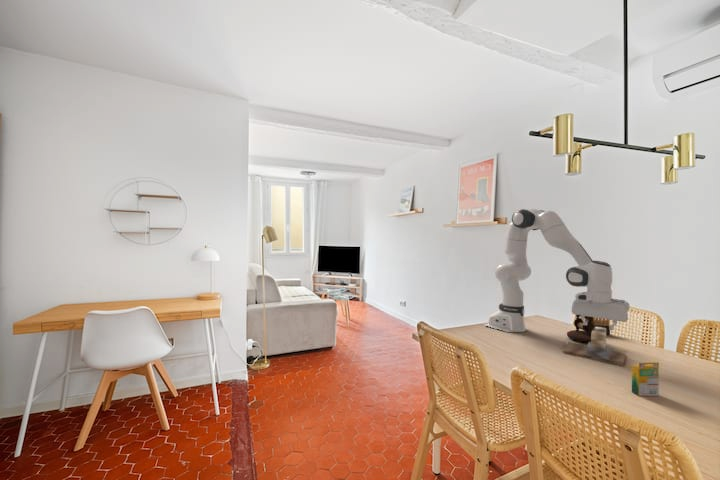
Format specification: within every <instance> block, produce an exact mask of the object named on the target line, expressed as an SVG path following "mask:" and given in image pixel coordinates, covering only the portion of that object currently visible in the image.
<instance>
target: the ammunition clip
mask: <svg viewBox="0 0 720 480" xmlns="http://www.w3.org/2000/svg"><path fill="white" fill-rule="evenodd" d="M593 320H594V329H593V331H595V327H603V328H606V336H611V330H609V326H610V320H608V319H602V318H595V317H593Z"/></svg>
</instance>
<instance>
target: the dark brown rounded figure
mask: <svg viewBox="0 0 720 480" xmlns="http://www.w3.org/2000/svg"><path fill="white" fill-rule="evenodd" d="M574 315H575V317H576V318H575V320H574V321H573V325H574V327H575V329H573V330H569V331H567V332H566V336H567V337H568V338H571V339H574V340H577V341H579V344H583V343H582V342H587V343H588V342H591V332H592V331H593V329H594V320H593V317H589V316H585V317H584V319H585V321H588V323H587V326H585V325H583V321H582V319H581V315H576V314H574Z"/></svg>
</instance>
